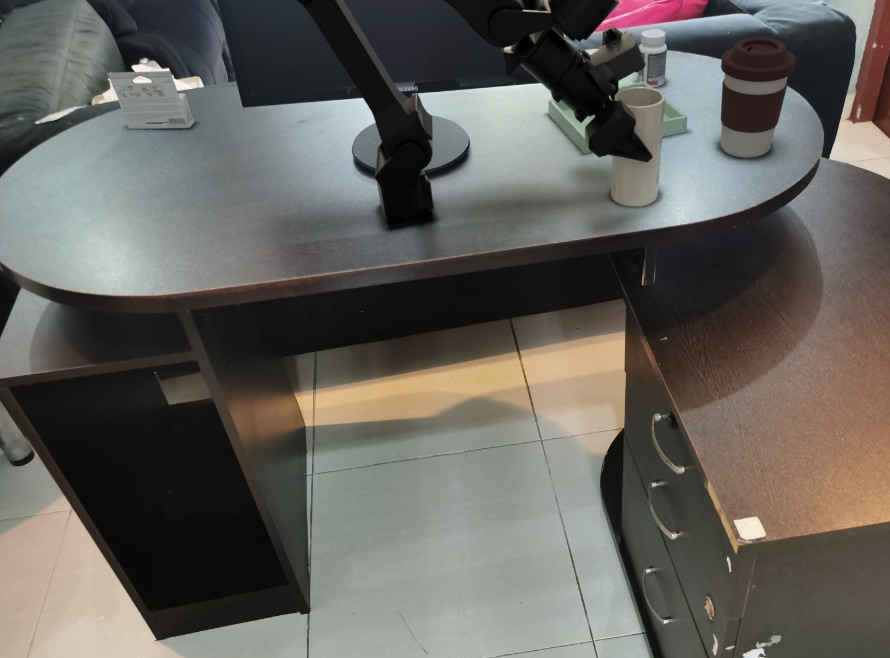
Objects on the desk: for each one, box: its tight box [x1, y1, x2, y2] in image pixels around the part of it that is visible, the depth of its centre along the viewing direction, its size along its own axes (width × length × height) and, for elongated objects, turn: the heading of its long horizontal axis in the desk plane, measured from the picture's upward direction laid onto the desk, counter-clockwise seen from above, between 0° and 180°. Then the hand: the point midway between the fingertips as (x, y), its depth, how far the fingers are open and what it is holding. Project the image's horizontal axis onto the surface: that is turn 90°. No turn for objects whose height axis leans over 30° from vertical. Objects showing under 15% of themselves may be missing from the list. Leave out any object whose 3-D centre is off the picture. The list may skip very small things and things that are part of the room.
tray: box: [548, 81, 688, 154], centre depth 132 cm, size 17×15×2 cm
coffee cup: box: [720, 36, 796, 159], centre depth 119 cm, size 10×10×15 cm
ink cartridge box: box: [106, 70, 195, 130], centre depth 138 cm, size 2×11×10 cm, turn 85°
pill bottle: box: [636, 28, 668, 88], centre depth 141 cm, size 5×5×8 cm
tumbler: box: [610, 87, 666, 207], centre depth 111 cm, size 6×6×14 cm
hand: (643, 143), depth 111 cm, fingers open, 9 cm apart
